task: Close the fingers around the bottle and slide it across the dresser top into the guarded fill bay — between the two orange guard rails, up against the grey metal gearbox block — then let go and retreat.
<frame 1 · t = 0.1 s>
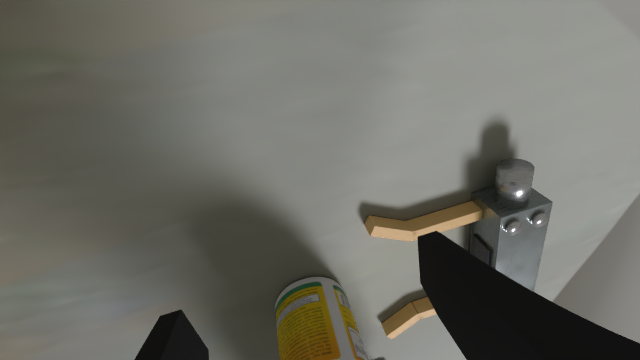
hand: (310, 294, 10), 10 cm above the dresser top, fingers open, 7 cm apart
supplement bottle: (309, 297, 25), on the dresser top
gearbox: (489, 243, 26), on the dresser top
guard rails: (409, 268, 25), on the dresser top
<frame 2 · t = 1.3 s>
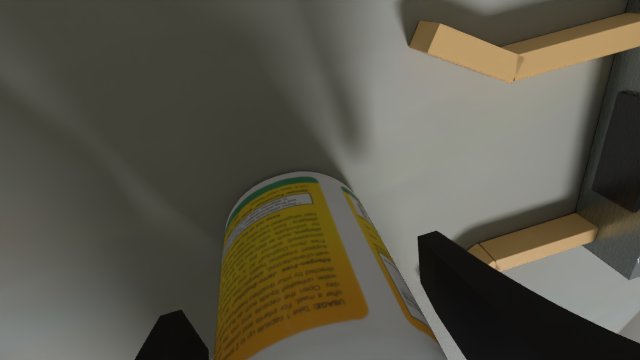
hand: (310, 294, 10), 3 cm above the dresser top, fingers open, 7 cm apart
supplement bottle: (294, 224, 13), on the dresser top
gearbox: (631, 127, 14), on the dresser top
guard rails: (484, 171, 13), on the dresser top
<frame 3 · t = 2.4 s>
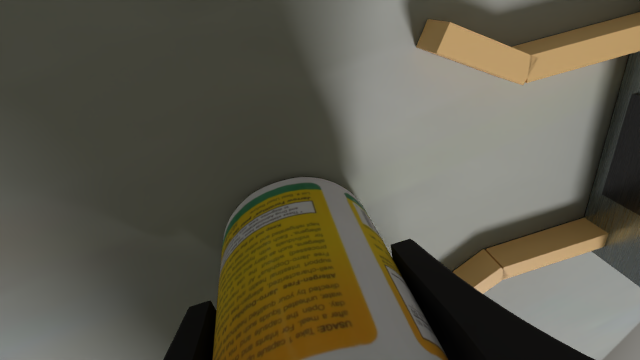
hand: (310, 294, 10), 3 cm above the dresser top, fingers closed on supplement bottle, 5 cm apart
supplement bottle: (295, 230, 13), on the dresser top, touching gripper
guard rails: (491, 175, 13), on the dresser top
when the fingers open (3 cm above the dresser top, at t = 2.9 s): supplement bottle moves 4 cm, on the dresser top.
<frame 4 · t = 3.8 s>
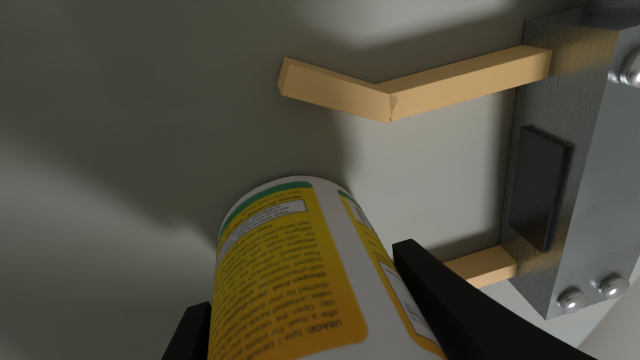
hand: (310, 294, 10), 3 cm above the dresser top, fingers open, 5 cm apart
supplement bottle: (291, 230, 12), on the dresser top, touching gripper
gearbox: (547, 159, 13), on the dresser top
guard rails: (388, 206, 13), on the dresser top
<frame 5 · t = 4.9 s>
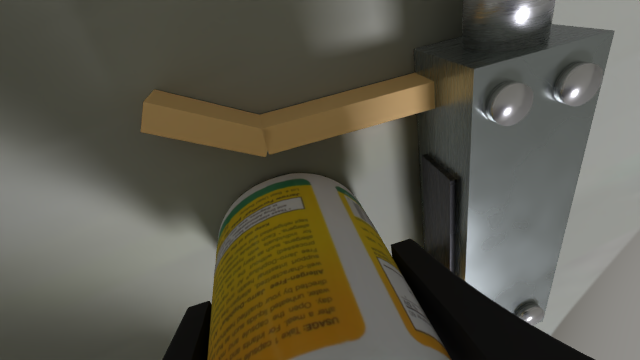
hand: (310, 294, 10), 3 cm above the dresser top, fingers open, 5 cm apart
supplement bottle: (291, 228, 12), on the dresser top, touching gripper
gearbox: (463, 184, 13), on the dresser top
guard rails: (296, 233, 12), on the dresser top
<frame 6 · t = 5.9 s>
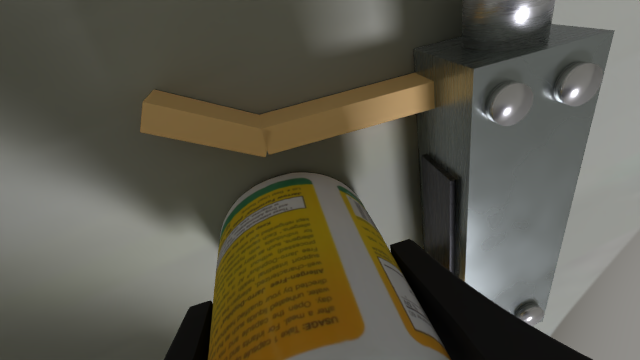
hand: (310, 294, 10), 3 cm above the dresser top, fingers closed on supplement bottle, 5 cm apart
supplement bottle: (293, 227, 12), on the dresser top, touching gripper
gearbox: (463, 184, 13), on the dresser top
guard rails: (296, 234, 12), on the dresser top
when the fingers open (3 cm above the dresser top, at t = 5.9 s): supplement bottle stays where it is, on the dresser top.
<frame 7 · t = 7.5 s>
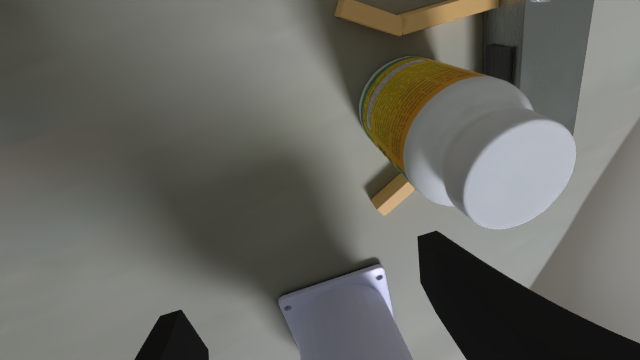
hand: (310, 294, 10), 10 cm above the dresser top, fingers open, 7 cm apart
supplement bottle: (399, 102, 19), on the dresser top
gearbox: (510, 73, 19), on the dresser top
guard rails: (402, 106, 19), on the dresser top
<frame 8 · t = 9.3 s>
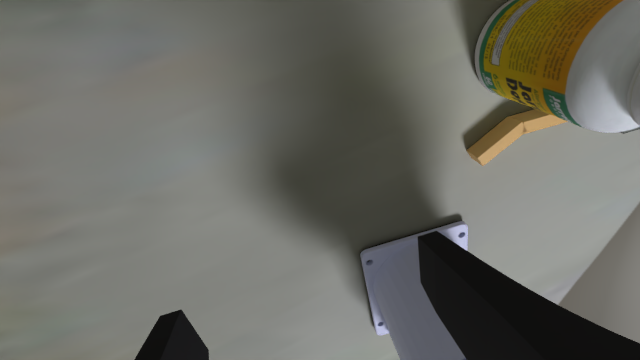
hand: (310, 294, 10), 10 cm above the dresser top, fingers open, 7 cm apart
supplement bottle: (512, 45, 19), on the dresser top
guard rails: (515, 49, 19), on the dresser top
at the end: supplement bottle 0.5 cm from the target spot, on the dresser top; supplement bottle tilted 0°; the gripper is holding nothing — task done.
